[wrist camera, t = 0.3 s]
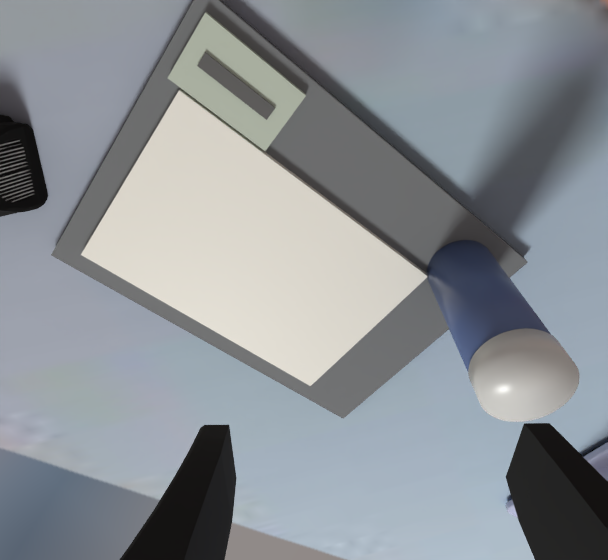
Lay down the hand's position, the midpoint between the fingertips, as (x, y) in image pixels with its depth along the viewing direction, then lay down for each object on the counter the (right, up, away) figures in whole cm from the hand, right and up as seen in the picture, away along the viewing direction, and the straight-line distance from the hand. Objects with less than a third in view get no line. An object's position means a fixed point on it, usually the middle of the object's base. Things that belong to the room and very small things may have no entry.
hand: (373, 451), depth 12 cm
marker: (+5, +5, +8) cm, 11 cm away
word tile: (-4, +11, +5) cm, 13 cm away
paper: (-4, +5, +8) cm, 10 cm away
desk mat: (-2, +5, +8) cm, 10 cm away
